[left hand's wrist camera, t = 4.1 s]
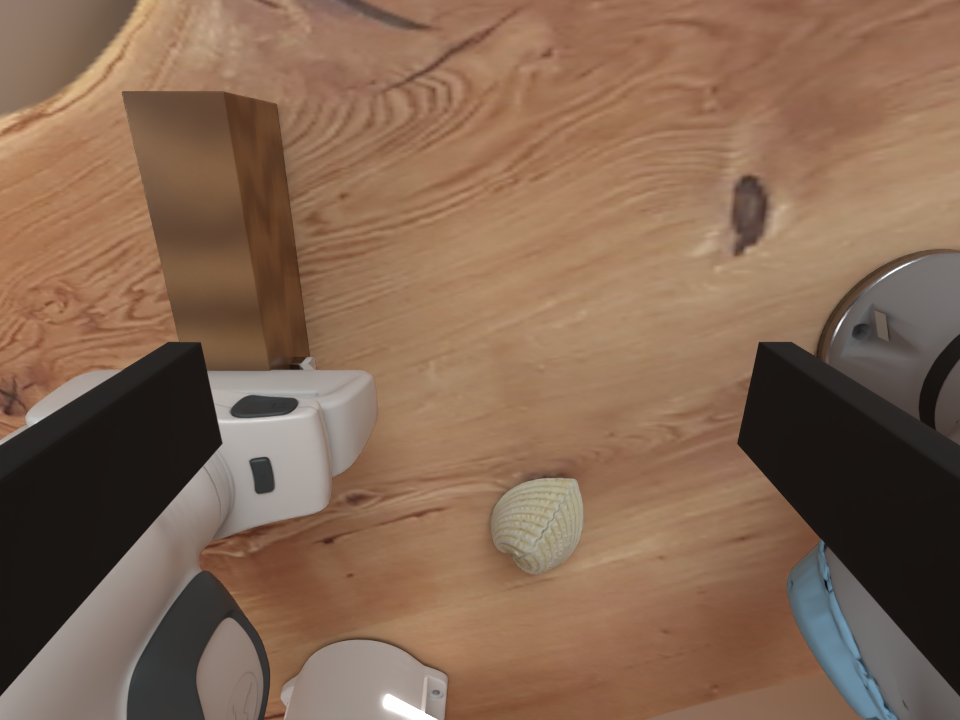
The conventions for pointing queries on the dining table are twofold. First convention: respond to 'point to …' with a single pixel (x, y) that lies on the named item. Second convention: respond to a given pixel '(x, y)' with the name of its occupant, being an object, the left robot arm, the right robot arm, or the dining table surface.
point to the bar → (222, 224)
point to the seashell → (539, 523)
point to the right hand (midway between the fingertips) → (262, 365)
